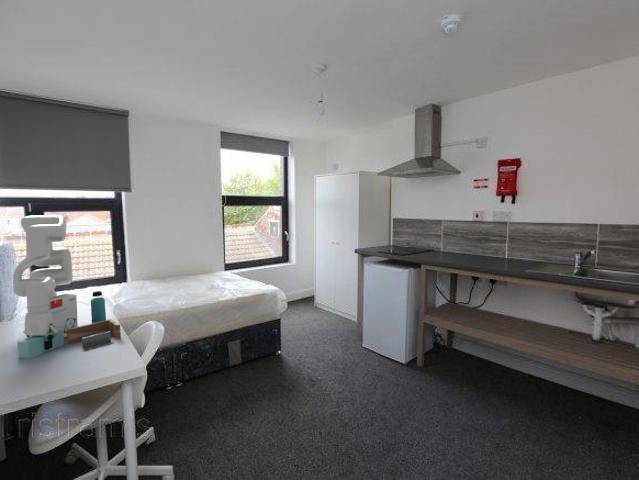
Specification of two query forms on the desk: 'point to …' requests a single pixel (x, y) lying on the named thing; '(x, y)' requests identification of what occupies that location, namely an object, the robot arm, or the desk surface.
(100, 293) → the beverage bottle
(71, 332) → the walnut rack
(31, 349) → the mint green box
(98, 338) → the grey bookend
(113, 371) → the desk surface
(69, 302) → the hard drive box
